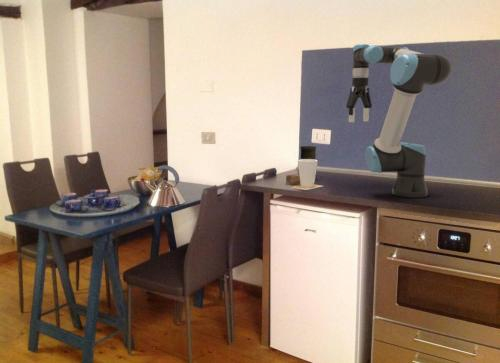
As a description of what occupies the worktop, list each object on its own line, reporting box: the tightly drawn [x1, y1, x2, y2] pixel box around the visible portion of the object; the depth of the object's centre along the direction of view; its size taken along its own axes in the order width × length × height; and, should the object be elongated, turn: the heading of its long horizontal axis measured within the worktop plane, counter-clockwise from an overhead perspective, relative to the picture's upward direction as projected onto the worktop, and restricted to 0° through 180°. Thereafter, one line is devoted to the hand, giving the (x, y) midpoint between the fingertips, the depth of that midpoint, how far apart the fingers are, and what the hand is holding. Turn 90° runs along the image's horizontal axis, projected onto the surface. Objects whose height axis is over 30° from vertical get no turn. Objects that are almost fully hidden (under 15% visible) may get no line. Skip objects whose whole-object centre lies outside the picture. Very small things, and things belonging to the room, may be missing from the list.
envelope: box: [290, 184, 324, 191], centre depth 227 cm, size 10×14×1 cm
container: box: [300, 145, 317, 182], centre depth 245 cm, size 9×9×18 cm
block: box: [285, 173, 301, 187], centre depth 233 cm, size 5×5×5 cm
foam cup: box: [297, 158, 319, 188], centre depth 226 cm, size 10×9×13 cm
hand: (358, 121), depth 228 cm, fingers open, 13 cm apart
